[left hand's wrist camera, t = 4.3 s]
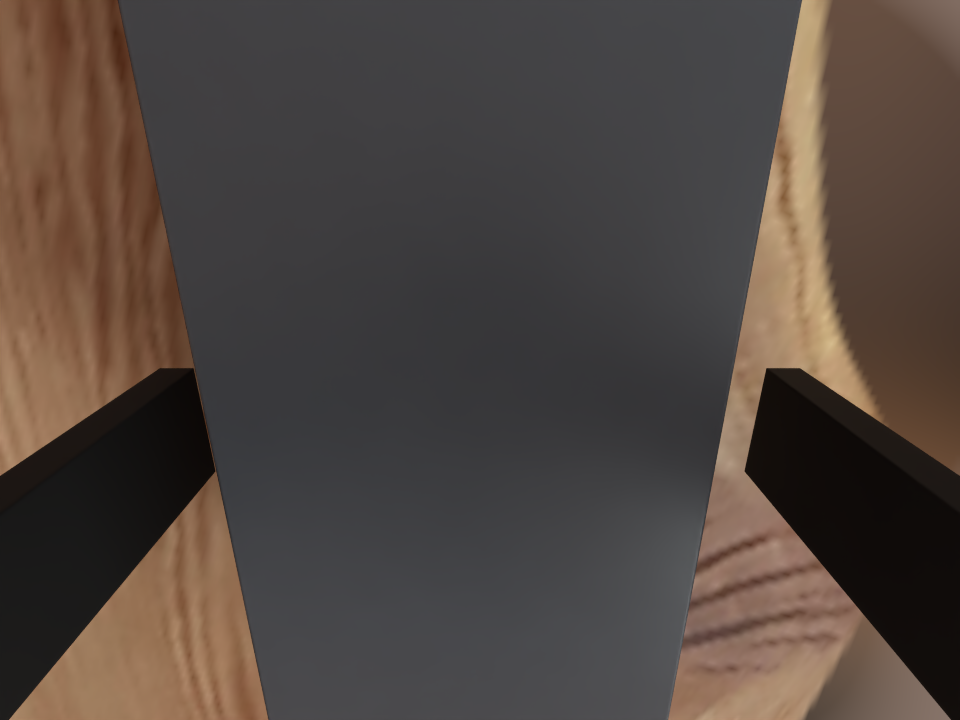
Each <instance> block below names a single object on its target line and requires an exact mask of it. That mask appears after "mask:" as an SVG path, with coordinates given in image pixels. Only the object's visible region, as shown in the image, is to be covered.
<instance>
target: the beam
mask: <svg viewBox="0 0 960 720" xmlns="http://www.w3.org/2000/svg"><path fill="white" fill-rule="evenodd" d="M801 2H802V0H118V3H119V8H120V13H121V18H122V22H123V27H124V32H125V37H126V41H127V46H128V51H129V56H130V61H131V65H132V70H133V75H134V80H135V84H136V89H137V94H138V99H139V104H140V108H141V113H142V118H143V123H144V127H145V132H146V137H147V142H148V147H149V151H150V156H151V161H152V166H153V170H154V175H155V180H156V185H157V189H158V194H159V199H160V204H161V209H162V213H163V218H164V223H165V228H166V232H167V237H168V242H169V247H170V252H171V256H172V261H173V266H174V271H175V275H176V280H177V285H178V290H179V294H180V299H181V304H182V309H183V314H184V318H185V323H186V328H187V333H188V337H189V342H190V347H191V352H192V357H193V361H194V366H195V371H196V376H197V380H198V385H199V390H200V395H201V400H202V404H203V409H204V414H205V419H206V423H207V428H208V433H209V438H210V442H211V447H212V452H213V457H214V462H215V466H216V471H217V476H218V481H219V485H220V490H221V495H222V500H223V505H224V509H225V514H226V519H227V524H228V528H229V533H230V538H231V543H232V548H233V552H234V557H235V562H236V567H237V571H238V576H239V581H240V586H241V590H242V595H243V600H244V605H245V610H246V614H247V619H248V624H249V629H250V633H251V638H252V643H253V648H254V653H255V657H256V662H257V667H258V672H259V676H260V681H261V686H262V691H263V696H264V700H265V705H266V710H267V715H268V719H269V720H668V717H669V712H670V706H671V701H672V696H673V690H674V685H675V679H676V674H677V669H678V663H679V658H680V653H681V647H682V642H683V636H684V631H685V626H686V620H687V615H688V610H689V604H690V599H691V593H692V588H693V583H694V577H695V572H696V567H697V561H698V556H699V550H700V545H701V540H702V534H703V529H704V524H705V518H706V513H707V507H708V502H709V497H710V491H711V486H712V481H713V475H714V470H715V464H716V459H717V454H718V448H719V443H720V438H721V432H722V427H723V421H724V416H725V411H726V405H727V400H728V395H729V389H730V384H731V378H732V373H733V368H734V362H735V357H736V352H737V346H738V341H739V335H740V330H741V325H742V319H743V314H744V309H745V303H746V298H747V292H748V287H749V282H750V276H751V271H752V266H753V260H754V255H755V249H756V244H757V239H758V233H759V228H760V223H761V217H762V212H763V206H764V201H765V196H766V190H767V185H768V180H769V174H770V169H771V164H772V158H773V153H774V147H775V142H776V137H777V131H778V126H779V121H780V115H781V110H782V104H783V99H784V94H785V88H786V83H787V78H788V72H789V67H790V61H791V56H792V51H793V45H794V40H795V35H796V29H797V24H798V18H799V13H800V8H801Z"/></svg>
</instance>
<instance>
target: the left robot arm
mask: <svg viewBox="0 0 960 720" xmlns="http://www.w3.org/2000/svg"><path fill="white" fill-rule="evenodd" d="M214 472H215V467H214V462H213V457H212V453H211V448H210V443H209V439H208V434H207V429H206V425H205V420H204V415H203V411H202V406H201V401H200V397H199V392H198V387H197V382H196V378H195V373H194V368H160V369H158V370H157V371H155V372H154V373H152V374H151V375H149V376H148V377H146V378H145V379H143V380H142V381H141V382H139V383H138V384H136V385H135V386H133V387H132V388H130V389H129V390H127V391H126V392H124V393H123V394H121V395H120V396H118V397H117V398H115V399H114V400H112V401H111V402H109V403H108V404H106V405H105V406H103V407H102V408H100V409H99V410H97V411H96V412H94V413H93V414H92V415H90V416H89V417H87V418H86V419H84V420H83V421H81V422H80V423H78V424H77V425H75V426H74V427H72V428H71V429H69V430H68V431H66V432H65V433H63V434H62V435H60V436H59V437H57V438H56V439H54V440H53V441H51V442H50V443H48V444H47V445H45V446H44V447H42V448H41V449H40V450H38V451H37V452H35V453H34V454H32V455H31V456H29V457H28V458H26V459H25V460H23V461H22V462H20V463H19V464H17V465H16V466H14V467H13V468H11V469H10V470H8V471H7V472H5V473H4V474H2V475H1V476H0V720H9V719H10V718H11V717H12V715H13V714H14V713H15V712H16V711H17V709H18V708H19V707H20V706H21V705H22V703H23V702H24V701H25V700H26V699H27V697H28V696H29V695H30V694H31V693H32V691H33V690H34V689H35V688H36V686H37V685H38V684H39V683H40V682H41V680H42V679H43V678H44V677H45V676H46V674H47V673H48V672H49V671H50V670H51V668H52V667H53V666H54V665H55V664H56V662H57V661H58V660H59V659H60V658H61V656H62V655H63V654H64V653H65V652H66V650H67V649H68V648H69V647H70V646H71V644H72V643H73V642H74V641H75V640H76V638H77V637H78V636H79V635H80V634H81V632H82V631H83V630H84V629H85V628H86V626H87V625H88V624H89V623H90V622H91V620H92V619H93V618H94V617H95V616H96V614H97V613H98V612H99V611H100V609H101V608H102V607H103V606H104V605H105V603H106V602H107V601H108V600H109V599H110V597H111V596H112V595H113V594H114V593H115V591H116V590H117V589H118V588H119V587H120V585H121V584H122V583H123V582H124V581H125V579H126V578H127V577H128V576H129V575H130V573H131V572H132V571H133V570H134V569H135V567H136V566H137V565H138V564H139V563H140V561H141V560H142V559H143V558H144V557H145V555H146V554H147V553H148V552H149V551H150V549H151V548H152V547H153V546H154V545H155V543H156V542H157V541H158V540H159V539H160V537H161V536H162V535H163V534H164V532H165V531H166V530H167V529H168V528H169V526H170V525H171V524H172V523H173V522H174V520H175V519H176V518H177V517H178V516H179V514H180V513H181V512H182V511H183V510H184V508H185V507H186V506H187V505H188V504H189V502H190V501H191V500H192V499H193V498H194V496H195V495H196V494H197V493H198V492H199V490H200V489H201V488H202V487H203V486H204V484H205V483H206V482H207V481H208V480H209V478H210V477H211V476H212V475H213V474H214ZM745 472H746V474H747V475H748V476H749V477H750V478H751V480H752V481H753V482H754V483H755V484H756V486H757V487H758V488H759V489H760V490H761V492H762V493H763V494H764V495H765V496H766V498H767V499H768V500H769V501H770V502H771V504H772V505H773V506H774V507H775V508H776V510H777V511H778V512H779V513H780V514H781V516H782V517H783V518H784V519H785V520H786V522H787V523H788V524H789V525H790V526H791V528H792V529H793V530H794V531H795V532H796V534H797V535H798V536H799V537H800V539H801V540H802V541H803V542H804V543H805V545H806V546H807V547H808V548H809V549H810V551H811V552H812V553H813V554H814V555H815V557H816V558H817V559H818V560H819V561H820V563H821V564H822V565H823V566H824V567H825V569H826V570H827V571H828V572H829V573H830V575H831V576H832V577H833V578H834V579H835V581H836V582H837V583H838V584H839V585H840V587H841V588H842V589H843V590H844V591H845V593H846V594H847V595H848V596H849V597H850V599H851V600H852V601H853V602H854V603H855V605H856V606H857V607H858V608H859V609H860V611H861V612H862V613H863V614H864V616H865V617H866V618H867V619H868V620H869V622H870V623H871V624H872V625H873V626H874V628H875V629H876V630H877V631H878V632H879V634H880V635H881V636H882V637H883V638H884V640H885V641H886V642H887V643H888V644H889V646H890V647H891V648H892V649H893V650H894V652H895V653H896V654H897V655H898V656H899V658H900V659H901V660H902V661H903V662H904V664H905V665H906V666H907V667H908V668H909V670H910V671H911V672H912V673H913V674H914V676H915V677H916V678H917V679H918V680H919V682H920V683H921V684H922V685H923V686H924V688H925V689H926V690H927V691H928V692H929V694H930V695H931V696H932V697H933V699H934V700H935V701H936V702H937V703H938V705H939V706H940V707H941V708H942V709H943V711H944V712H945V713H946V714H947V715H948V717H949V718H950V719H951V720H960V476H959V475H958V474H956V473H955V472H953V471H952V470H950V469H949V468H947V467H946V466H944V465H943V464H941V463H940V462H938V461H937V460H935V459H934V458H932V457H931V456H929V455H928V454H926V453H925V452H923V451H922V450H920V449H919V448H918V447H916V446H915V445H913V444H912V443H910V442H909V441H907V440H906V439H904V438H903V437H901V436H900V435H898V434H897V433H895V432H894V431H892V430H891V429H889V428H888V427H886V426H885V425H883V424H882V423H880V422H879V421H877V420H876V419H874V418H873V417H871V416H870V415H868V414H867V413H866V412H864V411H863V410H861V409H860V408H858V407H857V406H855V405H854V404H852V403H851V402H849V401H848V400H846V399H845V398H843V397H842V396H840V395H839V394H837V393H836V392H834V391H833V390H831V389H830V388H828V387H827V386H825V385H824V384H822V383H821V382H819V381H818V380H817V379H815V378H814V377H812V376H811V375H809V374H808V373H806V372H805V371H803V370H802V369H800V368H766V373H765V378H764V382H763V387H762V392H761V397H760V401H759V406H758V411H757V415H756V420H755V425H754V429H753V434H752V439H751V443H750V448H749V453H748V457H747V462H746V467H745Z"/></svg>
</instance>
